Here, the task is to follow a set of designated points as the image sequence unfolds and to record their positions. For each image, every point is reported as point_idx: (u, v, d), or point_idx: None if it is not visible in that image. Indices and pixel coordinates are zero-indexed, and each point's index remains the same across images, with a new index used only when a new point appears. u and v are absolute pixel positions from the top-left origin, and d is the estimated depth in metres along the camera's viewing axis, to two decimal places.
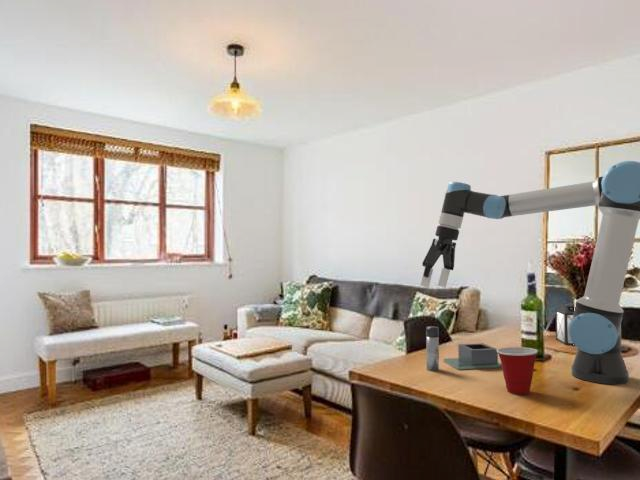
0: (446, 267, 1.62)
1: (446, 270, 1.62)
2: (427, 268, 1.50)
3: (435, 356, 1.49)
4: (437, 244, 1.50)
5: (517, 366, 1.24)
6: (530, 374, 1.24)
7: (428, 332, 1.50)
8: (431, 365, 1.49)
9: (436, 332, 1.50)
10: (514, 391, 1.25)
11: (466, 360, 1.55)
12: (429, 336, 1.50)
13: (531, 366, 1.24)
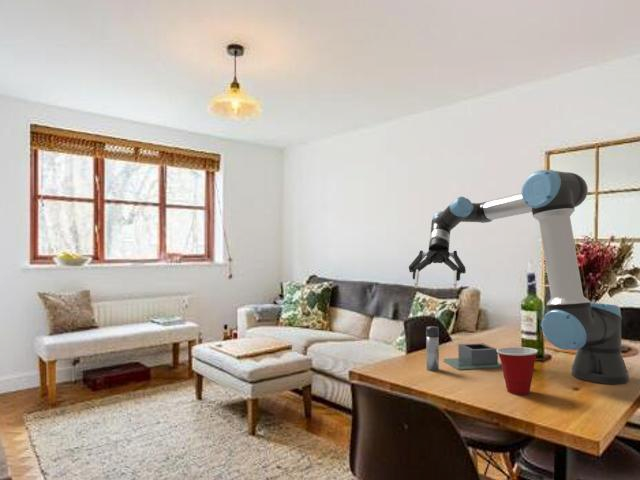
0: None
1: None
2: (413, 271, 1.69)
3: (435, 356, 1.49)
4: (419, 254, 1.73)
5: (517, 366, 1.24)
6: (530, 374, 1.24)
7: (428, 332, 1.50)
8: (431, 365, 1.49)
9: (436, 332, 1.50)
10: (514, 391, 1.25)
11: (466, 360, 1.55)
12: (429, 336, 1.50)
13: (531, 366, 1.24)
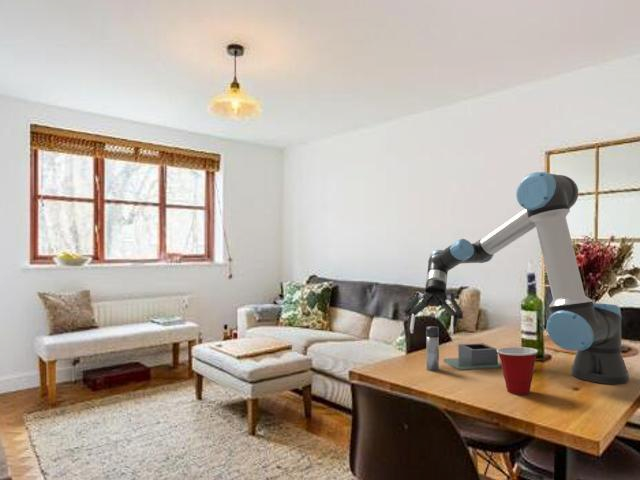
0: None
1: None
2: (408, 315, 1.63)
3: (435, 356, 1.49)
4: None
5: (517, 366, 1.24)
6: (530, 374, 1.24)
7: (428, 332, 1.50)
8: (431, 365, 1.49)
9: (436, 332, 1.50)
10: (514, 391, 1.25)
11: (466, 360, 1.55)
12: (429, 336, 1.50)
13: (531, 366, 1.24)
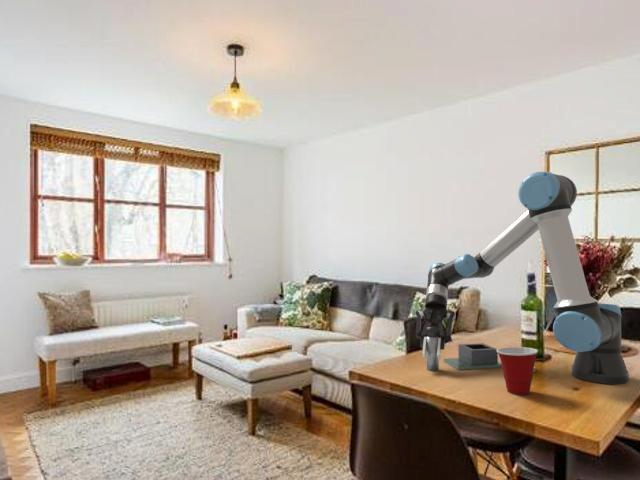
0: None
1: None
2: (420, 338, 1.53)
3: (435, 356, 1.49)
4: (416, 316, 1.59)
5: (517, 366, 1.24)
6: (530, 374, 1.24)
7: (428, 332, 1.50)
8: (431, 365, 1.49)
9: (436, 332, 1.50)
10: (514, 391, 1.25)
11: (466, 360, 1.55)
12: (429, 336, 1.50)
13: (531, 366, 1.24)
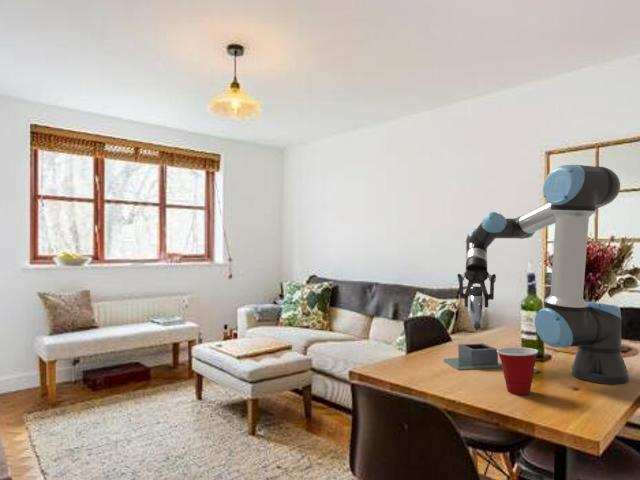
0: None
1: (482, 299, 1.57)
2: (464, 298, 1.59)
3: (479, 313, 1.55)
4: (458, 278, 1.66)
5: (517, 366, 1.23)
6: (530, 374, 1.24)
7: (472, 291, 1.56)
8: (476, 322, 1.56)
9: (480, 291, 1.56)
10: (514, 392, 1.25)
11: (466, 360, 1.55)
12: (474, 295, 1.56)
13: (532, 366, 1.24)
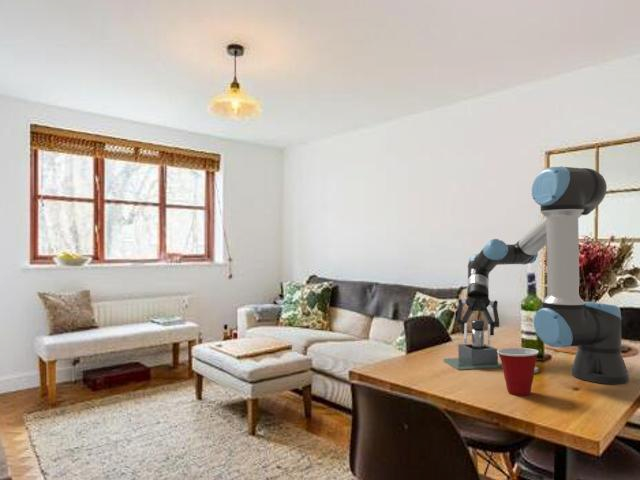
0: None
1: None
2: (461, 325, 1.60)
3: (480, 348, 1.55)
4: (458, 303, 1.66)
5: (517, 367, 1.23)
6: (531, 375, 1.23)
7: (474, 325, 1.56)
8: None
9: (482, 325, 1.55)
10: (514, 392, 1.24)
11: (466, 360, 1.55)
12: (475, 329, 1.56)
13: (532, 367, 1.23)
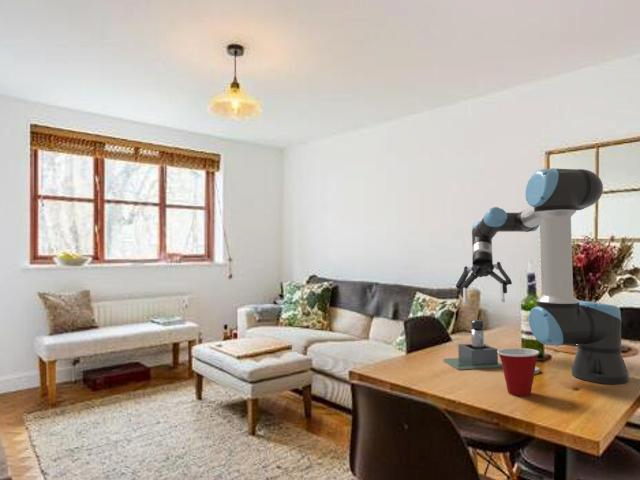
0: None
1: None
2: None
3: (480, 348, 1.56)
4: None
5: (518, 367, 1.22)
6: (531, 375, 1.23)
7: (474, 325, 1.56)
8: None
9: (481, 325, 1.56)
10: (515, 393, 1.24)
11: (466, 360, 1.55)
12: (475, 329, 1.56)
13: (532, 367, 1.23)
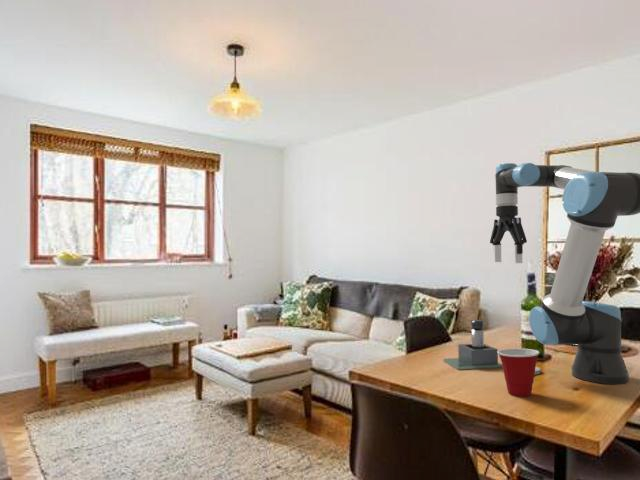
0: None
1: None
2: None
3: (480, 348, 1.56)
4: None
5: (518, 367, 1.22)
6: (531, 376, 1.23)
7: (474, 325, 1.56)
8: None
9: (481, 325, 1.56)
10: (515, 393, 1.24)
11: (466, 360, 1.55)
12: (475, 329, 1.56)
13: (532, 368, 1.22)
